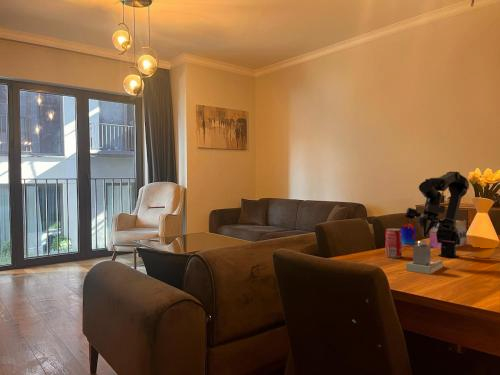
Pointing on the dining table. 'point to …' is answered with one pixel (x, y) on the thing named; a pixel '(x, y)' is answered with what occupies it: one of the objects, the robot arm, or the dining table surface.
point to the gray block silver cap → (421, 253)
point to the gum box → (462, 234)
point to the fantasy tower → (408, 235)
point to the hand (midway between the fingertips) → (424, 236)
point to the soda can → (393, 243)
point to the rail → (424, 267)
